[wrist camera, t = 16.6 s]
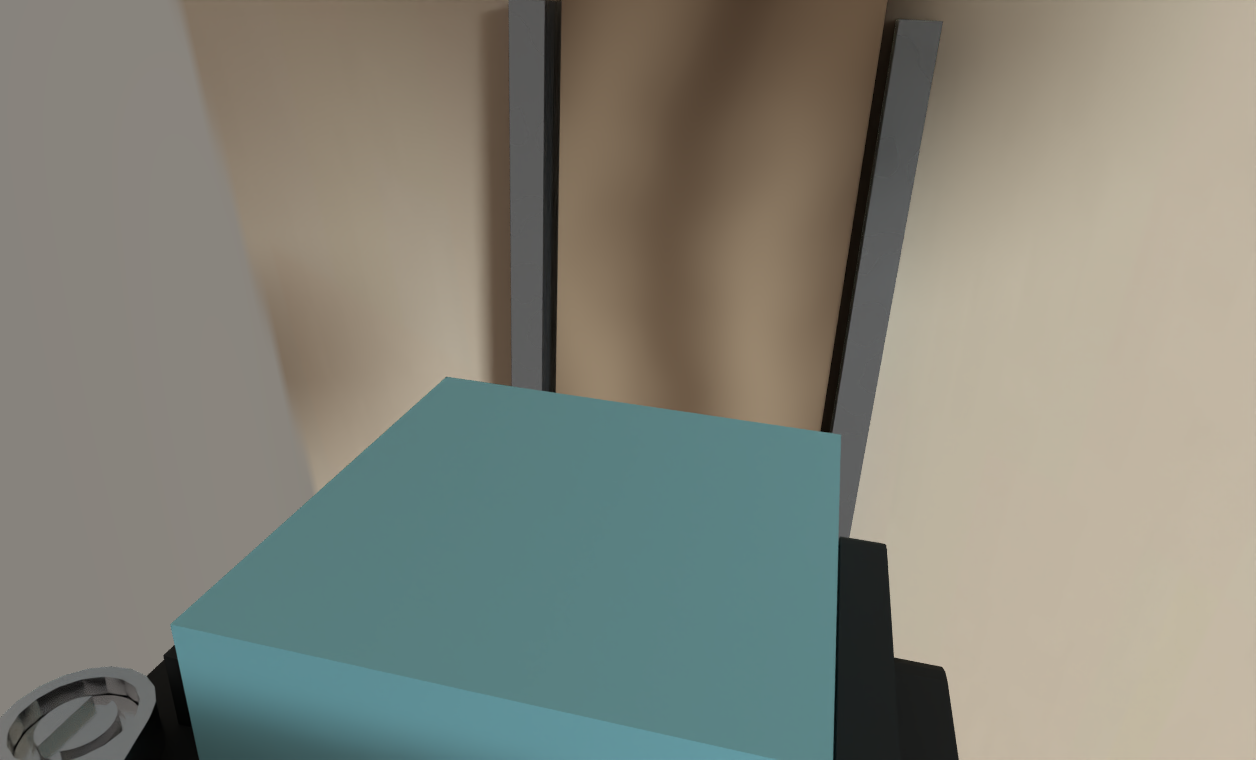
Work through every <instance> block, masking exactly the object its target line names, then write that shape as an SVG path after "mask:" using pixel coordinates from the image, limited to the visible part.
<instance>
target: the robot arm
mask: <svg viewBox="0 0 1256 760" xmlns="http://www.w3.org/2000/svg"><path fill="white" fill-rule="evenodd" d="M0 760H199V756H198V752H197V747H196V742H195V737H194V733H193V728H192V723H191V719H190V714H189V709H188V705H187V700H186V695H185V691H184V686H183V681H182V677H181V672H180V667H179V663H178V658H177V653H176V648H175V645H174V646H173V647H172V648H171V649H170V650H169V651H168V652H167V653H165V654H164V660H163V661H162V662H161V663H160V664H159V665H158V666H157V667H156V668H155V669H154V670H153V671H152V672H151V673H150V674H149V675H148V676H145V675H143V674H141V673H139V672H137V671H135V670H133V669H128V668H119V667H112V666H111V667H101V668H91V669H86V670H82V671H79V672H75V673H71V674H67V675H64V676H62V677H59V678H57V679H55V680H53V681H50V682H49V683H46V684H44V685H42V686H39V687H38V688H36V689H35V690H33V691H32V692H30V693H29V694H27V695H26V696H24V697H23V698H21V699H20V700H18V701H17V702H16V703H15V704H14V705H13V706H12V707H11V708H10V709H8V710H7V712H5V714H3V715H2V716H1V717H0ZM833 760H959V759H958V752H957V745H956V738H955V731H954V724H953V717H952V710H951V703H950V696H949V689H948V682H947V677H946V673H945V671H944V669H943V668H942V667H940V666H935V665H929V664H924V663H919V662H914V661H909V660H904V659H899V658H894V652H893V637H892V621H891V606H890V591H889V575H888V560H887V548H886V545H885V544H882V543H876V542H870V541H864V540H859V539H853V538H847V537H841V536H840V538H839V541H838V576H837V616H836V656H835V697H834V737H833Z"/></svg>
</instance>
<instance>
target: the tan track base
mask: <svg viewBox="0 0 1256 760" xmlns="http://www.w3.org/2000/svg"><path fill="white" fill-rule="evenodd" d="M887 1H888V0H562V11H561V78H560V145H559V213H558V280H557V347H556V393H560V394H567V395H574V396H581V397H588V398H594V399H601V400H608V401H615V402H622V403H628V404H635V405H642V406H649V407H656V408H663V409H669V410H676V411H683V412H690V413H697V414H703V415H710V416H717V417H724V418H731V419H738V420H744V421H751V422H758V423H765V424H772V425H779V426H785V427H792V428H799V429H806V430H813V431H819V432H820V431H821V424H822V418H823V411H824V405H825V399H826V392H827V386H828V379H829V373H830V366H831V360H832V354H833V347H834V341H835V334H836V328H837V322H838V315H839V309H840V302H841V296H842V289H843V283H844V277H845V270H846V264H847V257H848V251H849V245H850V238H851V232H852V225H853V219H854V213H855V206H856V200H857V193H858V187H859V180H860V174H861V168H862V161H863V155H864V148H865V142H866V136H867V129H868V123H869V116H870V110H871V103H872V97H873V91H874V84H875V78H876V71H877V65H878V59H879V52H880V46H881V39H882V33H883V27H884V20H885V14H886V7H887Z"/></svg>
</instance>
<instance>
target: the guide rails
mask: <svg viewBox="0 0 1256 760" xmlns="http://www.w3.org/2000/svg"><path fill="white" fill-rule="evenodd" d="M561 11H562V1H544V0H509V107H510V231H511V354H512V387H519V388H526V389H533V390H540V391H547V392H553V393H556V347H557V280H558V213H559V145H560V78H561ZM942 23H943V21H925V20H906V19H896V23H895V30H894V36H893V42H892V48H891V54H890V61H889V67H888V73H887V79H886V86H885V92H884V98H883V104H882V110H881V117H880V123H879V129H878V135H877V141H876V148H875V154H874V160H873V166H872V173H871V179H870V185H869V191H868V197H867V204H866V210H865V216H864V222H863V228H862V235H861V241H860V247H859V253H858V260H857V266H856V272H855V278H854V284H853V291H852V297H851V303H850V309H849V315H848V322H847V328H846V334H845V340H844V347H843V353H842V359H841V365H840V371H839V378H838V384H837V390H836V396H835V402H834V409H833V415H832V421H831V427H830V433H833V434H840V435H841V455H840V495H839V536H838V541H839V538H840V536H841V537H847V538H849V536H850V530H851V525H852V519H853V514H854V508H855V503H856V497H857V492H858V486H859V481H860V475H861V470H862V464H863V459H864V453H865V447H866V442H867V436H868V431H869V425H870V420H871V414H872V409H873V403H874V398H875V392H876V387H877V381H878V376H879V370H880V365H881V359H882V354H883V348H884V343H885V337H886V332H887V326H888V321H889V315H890V310H891V304H892V299H893V293H894V288H895V282H896V277H897V271H898V266H899V260H900V255H901V249H902V244H903V238H904V233H905V227H906V222H907V216H908V211H909V205H910V200H911V194H912V188H913V183H914V177H915V172H916V166H917V161H918V155H919V150H920V144H921V139H922V133H923V128H924V122H925V117H926V111H927V106H928V100H929V95H930V89H931V84H932V78H933V73H934V67H935V62H936V56H937V51H938V45H939V40H940V34H941V29H942Z"/></svg>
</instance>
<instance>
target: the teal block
mask: <svg viewBox="0 0 1256 760" xmlns="http://www.w3.org/2000/svg"><path fill="white" fill-rule="evenodd" d="M840 455H841V435H840V434H833V433H826V432H819V431H813V430H806V429H799V428H792V427H785V426H779V425H772V424H765V423H758V422H751V421H744V420H738V419H731V418H724V417H717V416H710V415H703V414H697V413H690V412H683V411H676V410H669V409H663V408H656V407H649V406H642V405H635V404H628V403H622V402H615V401H608V400H601V399H594V398H588V397H581V396H574V395H567V394H560V393H553V392H547V391H540V390H533V389H526V388H519V387H512V386H506V385H499V384H492V383H485V382H478V381H472V380H465V379H458V378H451V377H446V378H445V379H443V380H442V381H441V382H440V383H439V384H438V385H437V386H436V387H435V388H433V389H432V390H431V391H430V392H429V393H428V394H427V395H426V396H424V397H423V398H422V399H421V400H420V401H419V402H418V403H417V404H416V405H414V406H413V407H412V408H411V409H410V410H409V411H408V412H407V413H406V414H404V415H403V416H402V417H401V418H400V419H399V420H398V421H397V422H395V423H394V424H393V425H392V426H391V427H390V428H389V429H388V430H387V431H385V432H384V433H383V434H382V435H381V436H380V437H379V438H378V439H377V440H375V441H374V442H373V443H372V444H371V445H370V446H369V447H368V448H367V449H365V450H364V451H363V452H362V453H361V454H360V455H359V456H358V457H356V458H355V459H354V460H353V461H352V462H351V463H350V464H349V465H348V466H346V467H345V468H344V469H343V470H342V471H341V472H340V473H339V474H338V475H336V476H335V477H334V478H333V479H332V480H331V481H330V482H329V483H327V484H326V485H325V486H324V487H323V488H322V489H321V490H320V491H319V492H317V493H316V494H315V495H314V496H313V497H312V498H311V499H310V500H309V501H307V502H306V503H305V504H304V505H303V506H302V507H301V508H300V509H299V510H297V511H296V512H295V513H294V514H293V515H292V516H291V517H290V518H288V519H287V520H286V521H285V522H284V523H283V524H282V525H281V526H280V527H278V528H277V529H276V530H275V531H274V532H273V533H272V534H271V535H269V536H268V537H267V538H266V539H265V540H264V541H263V542H262V543H261V544H259V545H258V546H257V547H256V548H255V549H254V550H253V551H252V552H251V553H249V554H248V556H246V557H245V558H244V559H243V560H242V561H241V562H239V563H238V564H237V565H236V566H235V567H234V568H233V569H232V570H230V571H229V572H228V573H227V574H226V575H225V576H224V577H223V578H222V579H221V580H219V581H218V582H217V583H216V584H215V585H214V586H213V587H212V588H211V589H209V590H208V591H207V592H206V593H205V594H204V595H203V596H201V597H200V598H199V599H198V600H197V601H196V602H195V603H194V604H193V605H191V606H190V607H189V608H188V609H187V610H186V611H185V612H184V613H183V614H181V615H180V616H179V617H178V618H177V619H176V620H175V621H174V622H172V623H171V630H172V634H173V639H174V644H175V648H176V653H177V658H178V663H179V667H180V672H181V677H182V681H183V686H184V691H185V695H186V700H187V705H188V709H189V714H190V719H191V723H192V728H193V733H194V737H195V742H196V747H197V752H198V756H199V760H833V737H834V697H835V656H836V616H837V576H838V536H839V495H840Z"/></svg>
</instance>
